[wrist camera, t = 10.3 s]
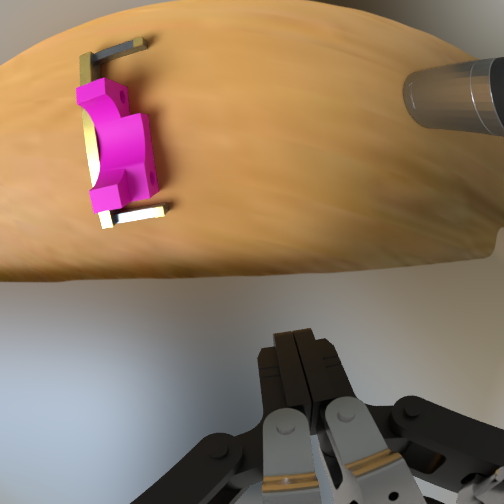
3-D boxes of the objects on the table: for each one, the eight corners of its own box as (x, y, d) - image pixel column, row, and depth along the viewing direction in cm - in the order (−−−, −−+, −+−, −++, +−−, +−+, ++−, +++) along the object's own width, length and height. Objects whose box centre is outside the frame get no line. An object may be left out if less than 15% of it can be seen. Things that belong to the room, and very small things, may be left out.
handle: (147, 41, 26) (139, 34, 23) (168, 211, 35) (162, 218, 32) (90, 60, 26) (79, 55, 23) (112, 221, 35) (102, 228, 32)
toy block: (159, 190, 34) (142, 204, 27) (118, 198, 34) (94, 213, 27) (145, 82, 28) (124, 70, 22) (103, 95, 28) (76, 88, 21)
